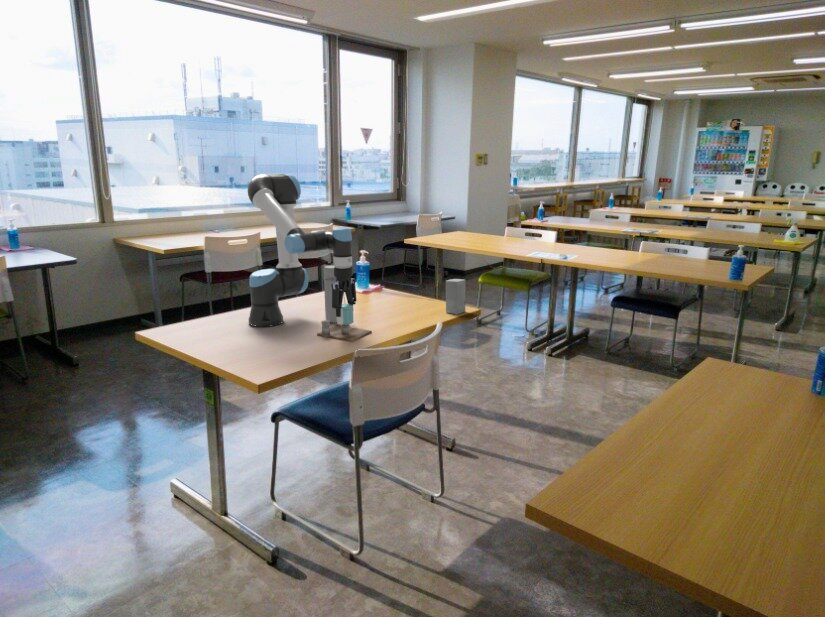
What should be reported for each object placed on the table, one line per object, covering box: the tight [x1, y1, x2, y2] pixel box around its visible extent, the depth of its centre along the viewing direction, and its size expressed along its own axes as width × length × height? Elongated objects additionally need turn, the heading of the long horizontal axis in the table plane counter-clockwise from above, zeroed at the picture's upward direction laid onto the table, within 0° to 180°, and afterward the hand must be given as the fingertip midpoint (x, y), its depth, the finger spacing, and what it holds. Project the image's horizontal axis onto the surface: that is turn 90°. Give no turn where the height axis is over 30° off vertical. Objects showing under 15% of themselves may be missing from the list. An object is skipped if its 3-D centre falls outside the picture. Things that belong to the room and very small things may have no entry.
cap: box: [341, 303, 354, 325], centre depth 228 cm, size 6×6×7 cm
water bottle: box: [323, 264, 346, 324], centre depth 249 cm, size 9×8×25 cm
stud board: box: [316, 319, 373, 343], centre depth 232 cm, size 18×15×6 cm
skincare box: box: [445, 278, 466, 316], centre depth 264 cm, size 8×7×16 cm
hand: (345, 321), depth 229 cm, fingers closed on cap, 6 cm apart
